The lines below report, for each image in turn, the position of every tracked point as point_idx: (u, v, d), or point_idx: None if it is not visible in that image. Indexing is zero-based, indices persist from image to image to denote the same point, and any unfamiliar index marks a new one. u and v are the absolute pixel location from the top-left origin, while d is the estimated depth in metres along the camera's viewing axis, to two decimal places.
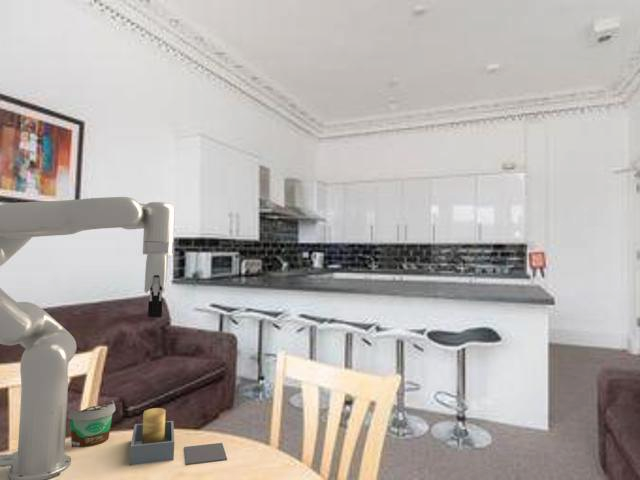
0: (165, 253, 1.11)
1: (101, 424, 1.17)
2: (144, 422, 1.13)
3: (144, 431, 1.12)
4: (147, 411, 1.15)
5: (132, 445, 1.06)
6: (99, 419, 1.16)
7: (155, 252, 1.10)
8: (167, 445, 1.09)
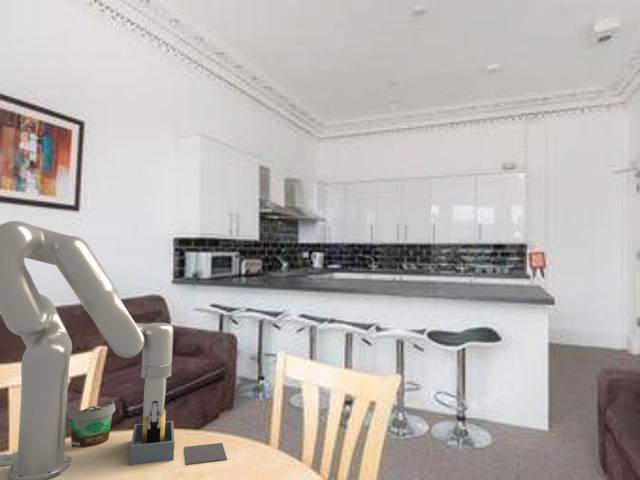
0: (163, 376, 1.13)
1: (101, 424, 1.17)
2: (144, 422, 1.13)
3: (144, 431, 1.12)
4: None
5: (132, 445, 1.06)
6: (99, 419, 1.16)
7: (154, 377, 1.12)
8: (167, 445, 1.09)
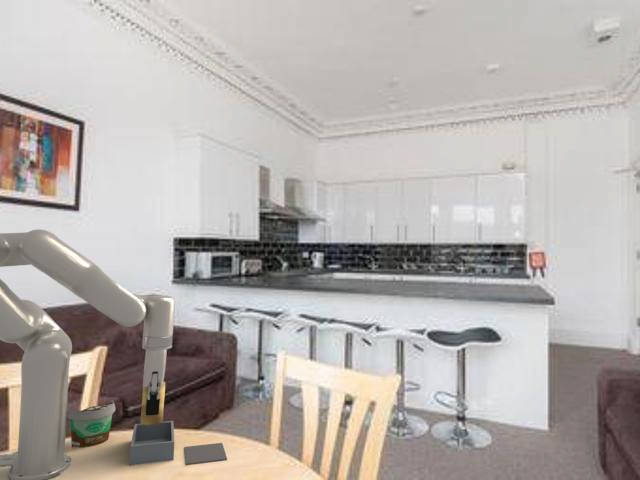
0: (164, 348, 1.13)
1: (101, 424, 1.17)
2: (144, 393, 1.13)
3: (143, 402, 1.13)
4: None
5: (132, 445, 1.06)
6: (99, 419, 1.16)
7: (154, 347, 1.12)
8: (167, 445, 1.09)
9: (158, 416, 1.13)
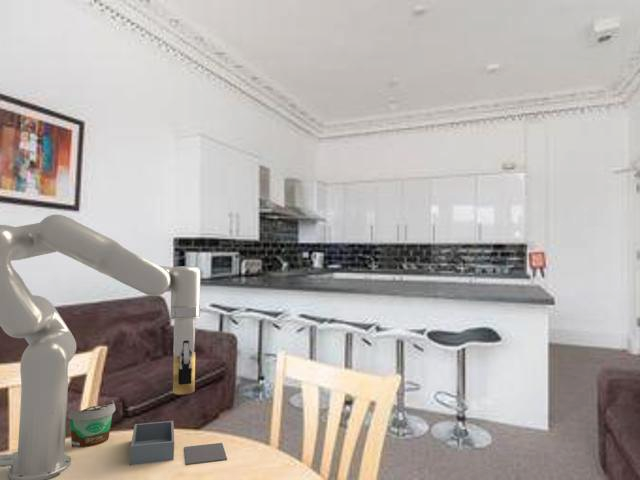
0: (193, 317, 1.13)
1: (101, 424, 1.17)
2: (175, 363, 1.13)
3: (175, 372, 1.13)
4: None
5: (132, 445, 1.06)
6: (99, 419, 1.16)
7: (183, 317, 1.12)
8: (167, 445, 1.09)
9: (190, 385, 1.13)
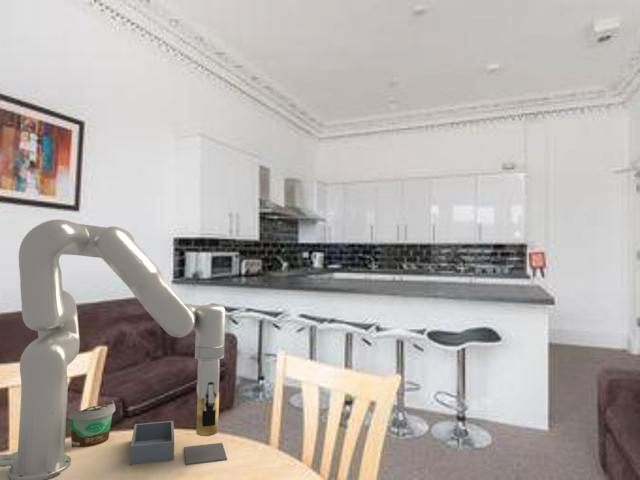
0: (218, 358, 1.12)
1: (101, 424, 1.17)
2: (199, 404, 1.12)
3: (199, 413, 1.11)
4: None
5: (132, 445, 1.06)
6: (99, 419, 1.16)
7: (208, 358, 1.11)
8: (167, 445, 1.09)
9: (214, 426, 1.12)
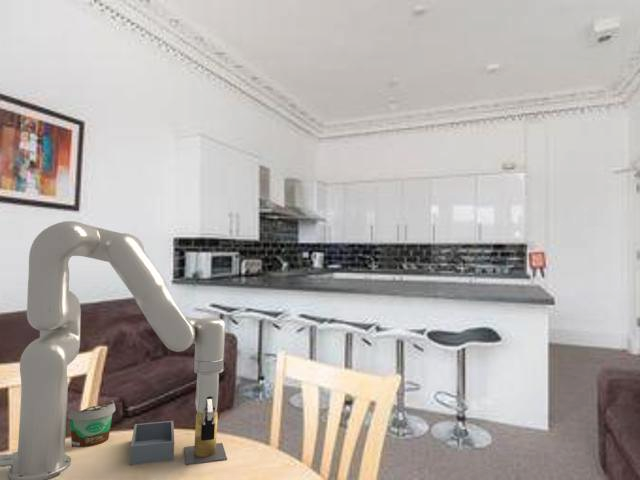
0: (217, 372, 1.12)
1: (101, 424, 1.17)
2: (197, 424, 1.11)
3: (197, 434, 1.11)
4: None
5: (132, 445, 1.06)
6: (99, 419, 1.16)
7: (208, 372, 1.10)
8: (167, 445, 1.09)
9: (212, 447, 1.12)
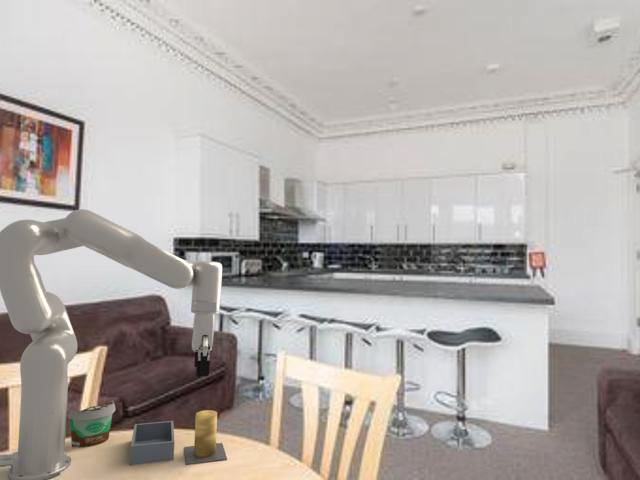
0: (213, 312, 1.14)
1: (101, 424, 1.17)
2: (197, 424, 1.11)
3: (197, 434, 1.11)
4: (199, 413, 1.13)
5: (132, 445, 1.06)
6: (99, 419, 1.16)
7: (204, 311, 1.13)
8: (167, 445, 1.09)
9: (212, 447, 1.12)
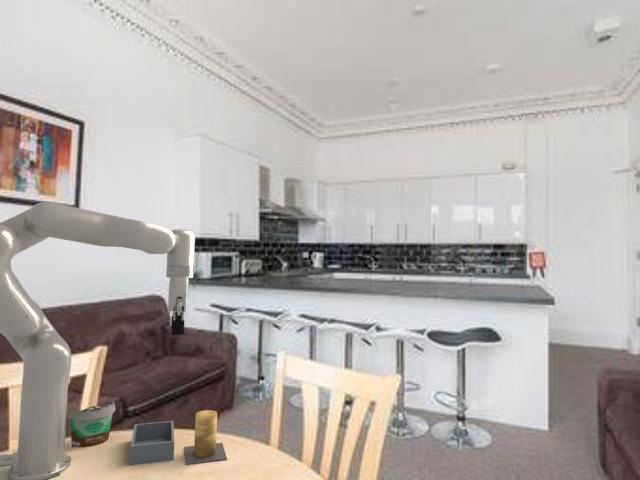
0: (187, 276, 1.22)
1: (101, 424, 1.17)
2: (197, 424, 1.11)
3: (197, 434, 1.11)
4: (199, 413, 1.13)
5: (132, 445, 1.06)
6: (99, 419, 1.16)
7: (178, 275, 1.21)
8: (167, 445, 1.09)
9: (212, 447, 1.12)
